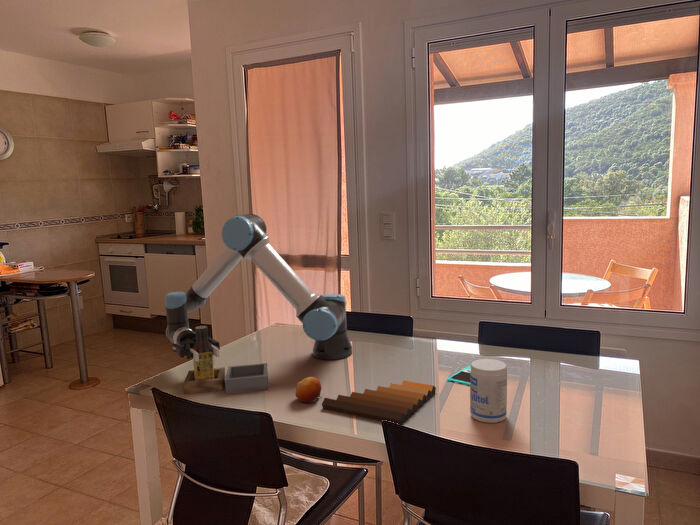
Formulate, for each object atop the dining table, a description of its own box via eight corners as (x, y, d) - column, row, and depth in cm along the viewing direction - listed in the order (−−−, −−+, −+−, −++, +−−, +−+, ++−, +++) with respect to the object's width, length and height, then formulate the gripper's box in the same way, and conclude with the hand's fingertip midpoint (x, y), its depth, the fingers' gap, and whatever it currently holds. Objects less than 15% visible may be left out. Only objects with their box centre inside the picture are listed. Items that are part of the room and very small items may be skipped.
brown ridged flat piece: (322, 411, 153) (400, 428, 140) (321, 399, 153) (400, 415, 140) (364, 381, 174) (436, 394, 161) (364, 371, 174) (435, 383, 161)
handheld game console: (497, 373, 176) (497, 369, 176) (475, 388, 164) (475, 384, 164) (470, 367, 182) (470, 364, 182) (446, 382, 170) (446, 378, 170)
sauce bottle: (197, 390, 172) (191, 331, 169) (193, 384, 178) (187, 326, 175) (217, 385, 175) (211, 327, 172) (213, 379, 181) (207, 323, 178)
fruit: (324, 401, 155) (309, 378, 155) (302, 413, 157) (288, 390, 157) (330, 390, 163) (316, 368, 163) (310, 402, 165) (296, 380, 165)
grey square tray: (267, 375, 183) (266, 362, 182) (267, 389, 170) (266, 376, 169) (229, 379, 181) (228, 366, 180) (226, 393, 168) (225, 380, 168)
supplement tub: (464, 418, 143) (463, 365, 141) (480, 406, 150) (479, 356, 148) (498, 427, 137) (497, 372, 135) (513, 414, 144) (513, 362, 142)
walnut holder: (225, 377, 183) (224, 367, 183) (222, 389, 172) (221, 379, 171) (189, 380, 182) (188, 370, 181) (184, 393, 170) (183, 383, 169)
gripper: (213, 344, 196) (236, 360, 176) (160, 355, 185) (179, 373, 166) (211, 324, 194) (234, 338, 175) (158, 334, 184) (177, 350, 165)
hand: (207, 355), depth 171 cm, fingers closed on sauce bottle, 6 cm apart
